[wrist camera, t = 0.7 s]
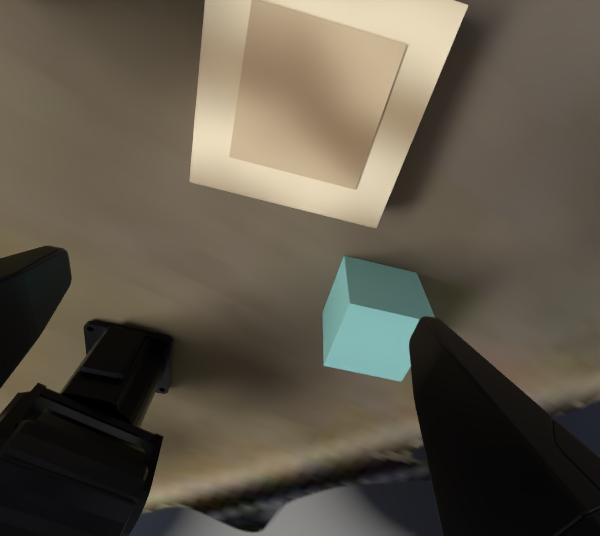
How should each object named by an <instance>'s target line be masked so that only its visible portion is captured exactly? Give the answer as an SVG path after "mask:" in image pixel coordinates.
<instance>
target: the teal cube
mask: <svg viewBox="0 0 600 536" xmlns="http://www.w3.org/2000/svg"><path fill="white" fill-rule="evenodd" d="M423 316H429V317H435V316H434V314H433V311H432V309H431V306H430V304H429V301H428V299H427V297H426V294H425V292H424V289H423V287H422V284H421V282H420V280H419V277H418V275H417V273H415V272H411V271H407V270H403V269H399V268H394V267H390V266H386V265H382V264H378V263H374V262H369V261H365V260H361V259H357V258H353V257H348V256H344V257H343V260H342V262H341V265H340V268H339V270H338V273H337V276H336V278H335V281H334V284H333V286H332V289H331V292H330V294H329V297H328V300H327V302H326V305H325V308H324V310H323V361H324V366H328V367H332V368H337V369H342V370H347V371H352V372H357V373H362V374H366V375H371V376H376V377H381V378H386V379H391V380H396V381H400V382H401V381H402V380H403V378H404V376H405V375H406V373H407V372H408V370H409V368H410V367H411V363H410V353H409V341H410V338H411V336H412V334H413V332H414V330H415V328H416V326H417V324H418V322H419V320H420V318H421V317H423Z"/></svg>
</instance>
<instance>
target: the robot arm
mask: <svg viewBox="0 0 600 536" xmlns="http://www.w3.org/2000/svg"><path fill="white" fill-rule="evenodd" d="M71 279H72V276H71V269H70V263H69V257H68V253H67V251H66V250H65V249H63V248H58V247H53V246H43V247H39V248H36V249H32V250H29V251H25V252H22V253H18V254H14V255H11V256H7V257H4V258H0V388H1V387H2V386H3V384H4V383H5V382H6V380H7V379H8V378H9V376H10V375H11V374H12V372H13V371H14V370H15V368H16V367H17V366H18V365H19V363H20V362H21V361H22V359H23V358H24V357H25V355H26V354H27V353H28V351H29V350H30V349H31V347H32V346H33V345H34V343H35V342H36V341H37V339H38V338H39V336H40V335H41V333H42V332H43V330H44V329H45V327H46V325H47V324H48V322H49V320H50V318H51V317H52V315H53V313H54V312H55V310H56V308H57V307H58V305H59V303H60V302H61V300H62V298H63V297H64V295H65V293H66V292H67V290H68V288H69V286H70V284H71ZM84 336H85V345H86V354H87V355H86V357H85V358H84V360H83V361H82V362H81V364H80V365H79V367H78V368H77V369H76V371H75V372H74V374H73V375H72V377H71V378H70V379H69V381H68V382H67V384H66V385H65V386H64V388H63V389H62V391H61V392H60V393H57V392H55V391H52V390H50V389H48V388H46V387H47V386H45V385H43V384H40V383H37V385H36V386H35V387H34V388H33V389H32V390H31V392H30V391H29V392H24V393H18V394H17V395H16V396H15V397H14V398H13V400H12V401H11V402H10V403H9V404H8V406H7V407H6V408H5V409H4V410H3V412H2V413H1V414H0V536H128V535H129V534H130V532H131V531H132V529H133V528H134V526H135V524H136V522H137V520H138V518H139V516H140V514H141V512H142V510H143V508H144V506H145V503H146V501H147V498H148V495H149V493H150V489H151V486H152V481H153V477H154V473H155V469H156V465H157V461H158V457H159V452H160V448H161V444H162V440H163V436H161V435H159V434H153V433H150V432H148V431H146V430H143V429H141V428H140V425H141V423H142V421H143V419H144V416H145V414H146V412H147V410H148V407H149V405H150V403H151V401H152V398H153V396H154V394H155V392H157V393H162V394H165V393H167V392H168V390H169V388H170V379H171V367H172V355H173V339H172V338H171V337H169V336H165V335H160V334H155V333H150V332H145V331H140V330H135V329H130V328H126V327H121V326H116V325H111V324H106V323H101V322H96V321H88V322H87V323H86V324H85V326H84ZM166 342H167V343H166ZM409 353H410V363H411V374H412V384H413V394H414V400H415V406H416V411H417V415H418V420H419V425H420V429H421V434H422V439H423V444H424V448H425V453H426V457H427V462H428V467H429V472H430V476H431V481H432V486H433V490H434V495H435V500H436V504H437V509H438V514H439V518H440V523H441V528H442V532H443V536H600V458H599V456H597V455H596V454H595V453H594V452H592V451H591V450H590V449H589V448H588V447H587V446H585V445H584V444H583V443H582V442H581V441H579V440H578V439H577V438H575V436H573V435H572V434H571V433H570V432H569V431H568V430H566V429H565V428H564V427H563V426H562V425H561V424H560V423H559V422H557V421H556V420H554V419H553V420H552V417H551V416H550V415H549V414H548V413H547V412H546V411H545V410H543V409H542V408H541V407H540V406H539V405H538V404H537V403H535V402H534V401H533V400H532V399H531V398H530V397H529V396H527V395H526V394H525V393H524V392H523V391H522V390H520V389H519V388H518V387H517V386H516V385H515V384H514V383H512V382H511V381H510V380H509V379H508V378H507V377H505V376H504V375H503V374H502V373H501V372H500V371H499V370H497V369H496V368H495V367H494V366H493V365H492V364H491V363H489V362H488V361H487V360H486V359H485V358H484V357H482V356H481V355H480V354H479V353H478V352H477V351H476V350H474V349H473V348H472V347H471V346H470V345H469V344H468V343H466V342H465V341H464V340H463V339H462V338H461V337H459V336H458V335H457V334H456V333H455V332H454V331H453V330H451V329H450V328H449V327H448V326H447V325H446V324H445V323H443V322H442V321H441V320H440V319H438V318H435V317H429V316H423V317H421V318H420V320H419V322H418V324H417V326H416V328H415V330H414V332H413V334H412V336H411V338H410V341H409Z"/></svg>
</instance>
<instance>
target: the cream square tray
mask: <svg viewBox="0 0 600 536" xmlns="http://www.w3.org/2000/svg"><path fill="white" fill-rule="evenodd" d="M467 7H468V5H466V4H463V3H460V2H457V1H454V0H205V7H204V19H203V31H202V42H201V54H200V65H199V77H198V89H197V100H196V112H195V123H194V135H193V147H192V158H191V170H190V181H189V182H192V183H196V184H200V185H204V186H208V187H212V188H216V189H220V190H224V191H228V192H232V193H236V194H240V195H244V196H248V197H252V198H256V199H260V200H264V201H268V202H272V203H276V204H280V205H284V206H288V207H292V208H296V209H300V210H304V211H308V212H312V213H316V214H320V215H324V216H329V217H333V218H337V219H341V220H345V221H349V222H353V223H357V224H361V225H365V226H369V227H373V228H377V225H378V223H379V221H380V218H381V216H382V213H383V211H384V208H385V206H386V204H387V201H388V199H389V196H390V194H391V191H392V189H393V187H394V184H395V182H396V179H397V177H398V175H399V172H400V170H401V167H402V165H403V162H404V160H405V158H406V155H407V153H408V150H409V148H410V145H411V143H412V141H413V138H414V136H415V133H416V131H417V129H418V126H419V124H420V121H421V119H422V116H423V114H424V112H425V109H426V107H427V104H428V102H429V99H430V97H431V95H432V92H433V90H434V87H435V85H436V83H437V80H438V78H439V75H440V73H441V70H442V68H443V66H444V63H445V61H446V58H447V56H448V53H449V51H450V49H451V46H452V44H453V41H454V39H455V37H456V34H457V32H458V29H459V27H460V24H461V22H462V20H463V17H464V15H465V12H466V10H467Z"/></svg>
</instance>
